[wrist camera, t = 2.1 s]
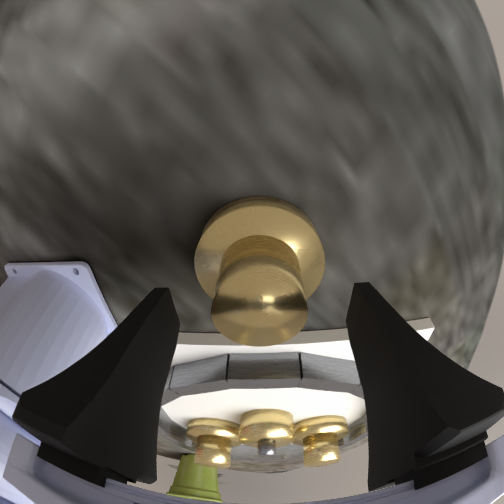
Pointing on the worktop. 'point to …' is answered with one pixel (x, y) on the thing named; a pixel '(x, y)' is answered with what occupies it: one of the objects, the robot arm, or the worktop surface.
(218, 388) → the ring gear
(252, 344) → the gear
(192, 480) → the plant pot
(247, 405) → the board
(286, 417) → the sun and planets
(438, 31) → the worktop surface
